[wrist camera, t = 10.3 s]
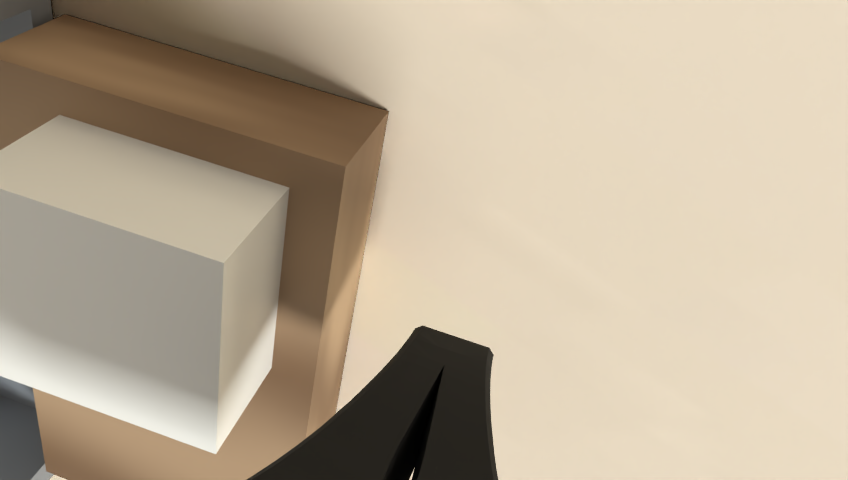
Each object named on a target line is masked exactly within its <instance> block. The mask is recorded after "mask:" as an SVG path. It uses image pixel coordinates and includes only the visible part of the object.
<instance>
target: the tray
mask: <svg viewBox="0 0 848 480" xmlns="http://www.w3.org/2000/svg"><path fill="white" fill-rule="evenodd" d="M51 20H53V17H52V7H51V0H0V43H1V42H3V41H5V40H8V39H10V38H12V37H15V36H17V35H19V34H21V33H24V32H26V31H28V30H30V29H33V28H35V27H37V26H40V25H42V24H44V23H46V22H49V21H51ZM53 475H54V474H52V473H49V472H46V467H45V461H44V455H43V448H42V442H41V436H40V430H39V424H38V418H37V412H36V406H35V399H34V393H33V388H32V387H29V386H27V385H24V384H21V383H18V382H16V381H13V380H10V379H7V378H5V377H2V376H0V480H49V479H50V478H51V477H52V476H53Z"/></svg>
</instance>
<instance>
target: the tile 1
mask: <svg viewBox="0 0 848 480" xmlns="http://www.w3.org/2000/svg"><path fill="white" fill-rule="evenodd" d="M288 197H289V187H286V186H283V185H280V184H276V183H273V182H270V181H267V180H264V179H261V178H257V177H254V176H251V175H248V174H245V173H242V172H239V171H235V170H232V169H229V168H226V167H223V166H220V165H216V164H213V163H210V162H207V161H204V160H201V159H197V158H194V157H191V156H188V155H185V154H182V153H179V152H175V151H172V150H169V149H166V148H163V147H160V146H156V145H153V144H150V143H147V142H144V141H141V140H138V139H134V138H131V137H128V136H125V135H122V134H119V133H115V132H112V131H109V130H106V129H103V128H100V127H96V126H93V125H90V124H87V123H84V122H81V121H78V120H74V119H71V118H68V117H65V116H62V115H58V116H57V117H55V118H53V119H52V120H50V121H48V122H47V123H45V124H43V125H42V126H40V127H38V128H37V129H35V130H33V131H32V132H30V133H28V134H27V135H25V136H23V137H22V138H20V139H18V140H17V141H15V142H13V143H12V144H10V145H8V146H7V147H5V148H3V149H2V150H0V376H2V377H5V378H7V379H10V380H13V381H16V382H18V383H21V384H24V385H27V386H29V387H32V388H35V389H38V390H40V391H43V392H46V393H49V394H51V395H54V396H57V397H60V398H62V399H65V400H68V401H71V402H73V403H76V404H79V405H82V406H84V407H87V408H90V409H93V410H95V411H98V412H101V413H104V414H106V415H109V416H112V417H115V418H117V419H120V420H123V421H126V422H128V423H131V424H134V425H136V426H139V427H142V428H145V429H147V430H150V431H153V432H156V433H158V434H161V435H164V436H167V437H169V438H172V439H175V440H178V441H180V442H183V443H186V444H189V445H191V446H194V447H197V448H200V449H202V450H205V451H208V452H211V453H213V454H216V453H217V452H218V450H219V449H220V447H221V445H222V444H223V442H224V441H225V439H226V438H227V436H228V435H229V433H230V432H231V430H232V428H233V427H234V425H235V424H236V422H237V421H238V419H239V418H240V416H241V414H242V413H243V411H244V410H245V408H246V407H247V405H248V404H249V402H250V401H251V399H252V397H253V396H254V394H255V393H256V391H257V390H258V388H259V387H260V385H261V383H262V382H263V380H264V379H265V377H266V376H267V374H268V373H269V371H270V370H271V368H272V359H273V348H274V338H275V328H276V318H277V308H278V298H279V288H280V278H281V267H282V257H283V247H284V237H285V227H286V217H287V207H288Z"/></svg>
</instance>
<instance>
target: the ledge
mask: <svg viewBox="0 0 848 480" xmlns="http://www.w3.org/2000/svg"><path fill="white" fill-rule="evenodd" d="M388 113H389V111H386V110H383V109H379V108H376V107H373V106H369V105H366V104H363V103H359V102H356V101H353V100H349V99H346V98H343V97H339V96H336V95H333V94H329V93H326V92H323V91H319V90H316V89H313V88H309V87H306V86H303V85H299V84H296V83H293V82H289V81H286V80H283V79H279V78H276V77H273V76H269V75H266V74H263V73H259V72H256V71H253V70H249V69H246V68H243V67H239V66H236V65H233V64H229V63H226V62H223V61H219V60H216V59H212V58H209V57H206V56H202V55H199V54H196V53H192V52H189V51H186V50H182V49H179V48H176V47H172V46H169V45H166V44H162V43H159V42H156V41H152V40H149V39H146V38H142V37H139V36H136V35H132V34H129V33H126V32H122V31H119V30H116V29H112V28H109V27H106V26H102V25H99V24H96V23H92V22H89V21H86V20H82V19H79V18H76V17H72V16H69V15H66V14H65V15H62V16H60V17H58V18H55V19H53V20H51V21H49V22H46V23H44V24H42V25H40V26H37V27H35V28H33V29H30V30H28V31H26V32H24V33H21V34H19V35H17V36H15V37H12V38H10V39H8V40H5V41H3V42H1V43H0V150H2V149H3V148H5V147H7V146H8V145H10V144H12V143H13V142H15V141H17V140H18V139H20V138H22V137H23V136H25V135H27V134H28V133H30V132H32V131H33V130H35V129H37V128H38V127H40V126H42V125H43V124H45V123H47V122H48V121H50V120H52V119H53V118H55V117H57V116H58V115H62V116H65V117H68V118H71V119H74V120H78V121H81V122H84V123H87V124H90V125H93V126H96V127H100V128H103V129H106V130H109V131H112V132H115V133H119V134H122V135H125V136H128V137H131V138H134V139H138V140H141V141H144V142H147V143H150V144H153V145H156V146H160V147H163V148H166V149H169V150H172V151H175V152H179V153H182V154H185V155H188V156H191V157H194V158H197V159H201V160H204V161H207V162H210V163H213V164H216V165H220V166H223V167H226V168H229V169H232V170H235V171H239V172H242V173H245V174H248V175H251V176H254V177H257V178H261V179H264V180H267V181H270V182H273V183H276V184H280V185H283V186H286V187H289V197H288V207H287V217H286V227H285V237H284V247H283V257H282V267H281V278H280V288H279V298H278V308H277V318H276V328H275V338H274V348H273V359H272V368H271V370H270V371H269V373H268V374H267V376H266V377H265V379H264V380H263V382H262V383H261V385H260V387H259V388H258V390H257V391H256V393H255V394H254V396H253V397H252V399H251V401H250V402H249V404H248V405H247V407H246V408H245V410H244V411H243V413H242V414H241V416H240V418H239V419H238V421H237V422H236V424H235V425H234V427H233V428H232V430H231V432H230V433H229V435H228V436H227V438H226V439H225V441H224V442H223V444H222V445H221V447H220V449H219V450H218V452H217V453H216V454H213V453H211V452H208V451H205V450H202V449H200V448H197V447H194V446H191V445H189V444H186V443H183V442H180V441H178V440H175V439H172V438H169V437H167V436H164V435H161V434H158V433H156V432H153V431H150V430H147V429H145V428H142V427H139V426H136V425H134V424H131V423H128V422H126V421H123V420H120V419H117V418H115V417H112V416H109V415H106V414H104V413H101V412H98V411H95V410H93V409H90V408H87V407H84V406H82V405H79V404H76V403H73V402H71V401H68V400H65V399H62V398H60V397H57V396H54V395H51V394H49V393H46V392H43V391H40V390H38V389H35V388H33V393H34V399H35V406H36V412H37V418H38V424H39V430H40V436H41V442H42V448H43V455H44V461H45V467H46V472H49V473H52V474H54V475H57V476H60V477H62V478H65V479H68V480H247V479H248V478H250V477H251V476H253V475H254V474H256V473H257V472H259V471H261V470H262V469H264V468H265V467H267V466H268V465H270V464H271V463H273V462H274V461H276V460H277V459H279V458H280V457H281V456H283V455H284V454H286V453H287V452H288V451H290V450H291V449H292V448H294V447H295V446H297V445H298V444H299V443H301V442H302V441H303V440H305V439H306V438H307V437H308V436H310V435H311V434H312V433H313V432H315V431H316V430H317V429H318V428H320V427H321V426H322V425H323V424H324V423H326V422H327V421H328V420H329V419H330V418H331V417H332V416H334V415H335V413H336V407H337V402H338V396H339V390H340V385H341V379H342V373H343V368H344V362H345V356H346V351H347V345H348V339H349V334H350V328H351V322H352V317H353V311H354V305H355V300H356V294H357V289H358V283H359V277H360V272H361V266H362V260H363V255H364V249H365V243H366V238H367V232H368V226H369V221H370V215H371V209H372V204H373V198H374V192H375V187H376V181H377V175H378V170H379V164H380V158H381V153H382V147H383V141H384V136H385V130H386V124H387V119H388Z"/></svg>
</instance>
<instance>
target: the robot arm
mask: <svg viewBox="0 0 848 480" xmlns="http://www.w3.org/2000/svg"><path fill="white" fill-rule="evenodd" d="M492 360H493V353H492V352H491V350H490V348H488V347H485V346H482V345H479V344H476V343H473V342H470V341H467V340H464V339H461V338H458V337H455V336H452V335H449V334H446V333H443V332H440V331H437V330H434V329H431V328H428V327H425V326H421V327H418V328H415V330H414V331H413V333H412V334H411V336H410V337H409V339H408V340H407V341H406V342H405V344H404V345H403V346H402V348H401V349H400V350H399V351H398V352H397V354H396V355H395V356H394V357H393V358H392V359H391V360H390V362H389V363H388V364H387V365H386V366H385V367H384V368H383V369H382V370H381V371H380V372H379V373H378V374H377V375H376V376H375V377H374V378H373V379H372V380H371V381H370V382H369V383H368V384H367V385H366V386H365V387H364V388H363V389H362V390H361V391H360V392H359V393H358V394H357V395H356V396H355V397H354V398H353V399H352V400H351V401H350V402H349V403H348V404H346V405H345V406H344V407H343V408H342V409H341V410H339V411H338V412H337V413H336V414H335V415H334V416H332V417H331V418H330V419H329V420H328V421H327V422H326V423H324V424H323V425H322V426H321V427H320V428H318V429H317V430H316V431H315V432H313V433H312V434H311V435H310V436H308V437H307V438H306V439H305V440H303V441H302V442H301V443H299V444H298V445H297V446H295V447H294V448H292V449H291V450H290V451H288V452H287V453H286V454H284V455H283V456H281V457H280V458H279V459H277V460H276V461H274V462H273V463H271V464H270V465H268V466H267V467H265V468H264V469H262V470H261V471H259V472H257V473H256V474H254V475H253V476H251V477H250V478H248V479H247V480H409V478H410V476H411V474H412V472H413V470H414V473H413V477H412V480H498V477H497V471H496V463H495V456H494V447H493V437H492V426H491V411H490V378H491V366H492ZM414 467H415V469H414Z"/></svg>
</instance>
